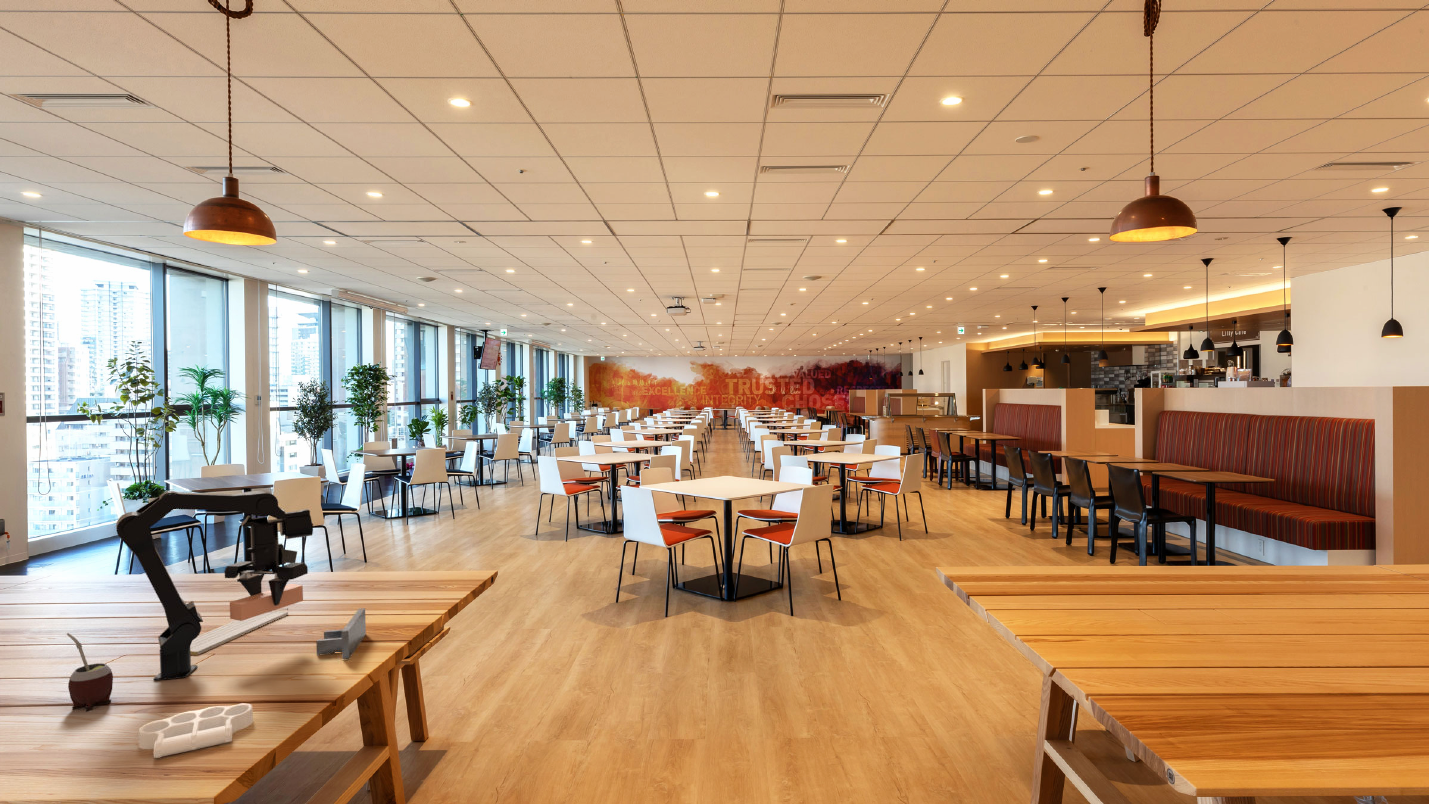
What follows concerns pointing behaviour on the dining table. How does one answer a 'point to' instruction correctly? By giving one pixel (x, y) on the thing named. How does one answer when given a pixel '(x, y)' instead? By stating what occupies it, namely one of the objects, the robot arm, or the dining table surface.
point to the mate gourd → (90, 683)
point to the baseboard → (231, 631)
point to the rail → (264, 602)
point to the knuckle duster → (194, 729)
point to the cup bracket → (344, 637)
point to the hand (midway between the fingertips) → (267, 604)
